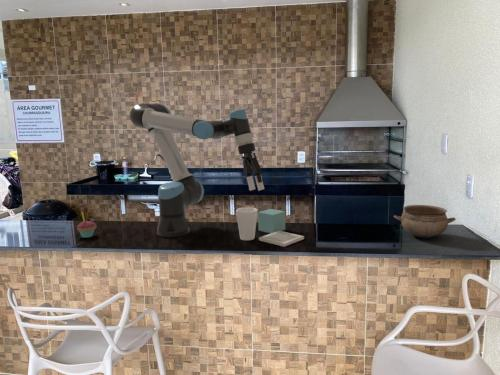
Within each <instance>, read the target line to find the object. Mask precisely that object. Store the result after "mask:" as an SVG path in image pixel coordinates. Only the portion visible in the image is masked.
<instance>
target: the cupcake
mask: <svg viewBox="0 0 500 375" xmlns="http://www.w3.org/2000/svg"><path fill="white" fill-rule="evenodd" d="M81 217H82V222H79V223H78V224H77V225H76V230H77V231H78V232H79V233H80V236H81V237H82V238H84V239H85V238H91V237H93V235H94V232H95V229H97V226H98V225H97V224H96V223H95V221H91V220H86V219H85V216H84V212H81Z"/></svg>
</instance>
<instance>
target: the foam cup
mask: <svg viewBox="0 0 500 375" xmlns="http://www.w3.org/2000/svg"><path fill="white" fill-rule="evenodd" d="M258 212H259V211H258V208H256V207H238V208H236V210H235V215H236V220H237V227H238V232H239V239H240V240H242V241H252V240H255V236H256V228H257V227H256V226H257V222H258V220H257V219H258Z"/></svg>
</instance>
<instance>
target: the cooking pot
mask: <svg viewBox="0 0 500 375" xmlns="http://www.w3.org/2000/svg"><path fill="white" fill-rule="evenodd" d="M402 208H403V212H402V214H401V216H399V215H396V214H394V215H393V218H395V219H396V220H398V221H400V223H401V224H400V225H401V226H402V228H403V230H405V231H407V232H408V233H410V234H411V235H413V236H414V237H415V238H418V239H425V240H426V239H431V238H433V237H436V236H438V235H440V234H442V233H444V232H445V231H446V230H447V228H448V226H449V224H450V223H451V224H452V223H453V222H455V221H456V220H457V219H456V218H455V217H449V218H448V216H447V214H446V213H447V212H448V210H447V209H446V208H444V207H440V206H435V205H430V204H428V205H427V204H409V205H405V206H403V207H402Z"/></svg>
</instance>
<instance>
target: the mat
mask: <svg viewBox="0 0 500 375" xmlns="http://www.w3.org/2000/svg"><path fill="white" fill-rule="evenodd" d="M304 239H305V235H300V234H296V233H291V232H286V231H284V230H283V231H277V232H274V233H268V234H265V235H262V236H259V237H258V241H260V242H264V243H268V244H273V245H277V246H278V247H279V246H280V247H283V248H284V247H287V246H289V245H292V244H294V243H295V244H296V243H298V242H300V241H302V240H304Z"/></svg>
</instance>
